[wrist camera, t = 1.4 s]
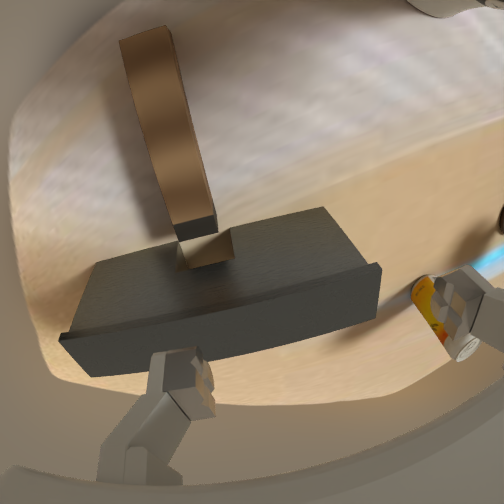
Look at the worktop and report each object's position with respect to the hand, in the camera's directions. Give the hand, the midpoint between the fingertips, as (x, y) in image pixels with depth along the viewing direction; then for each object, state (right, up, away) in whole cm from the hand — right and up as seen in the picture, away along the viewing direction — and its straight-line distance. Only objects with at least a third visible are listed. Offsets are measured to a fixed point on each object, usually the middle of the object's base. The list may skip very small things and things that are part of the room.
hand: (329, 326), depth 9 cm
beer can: (+27, -3, +36) cm, 45 cm away
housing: (-7, +2, +26) cm, 27 cm away
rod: (-10, +14, +18) cm, 25 cm away
